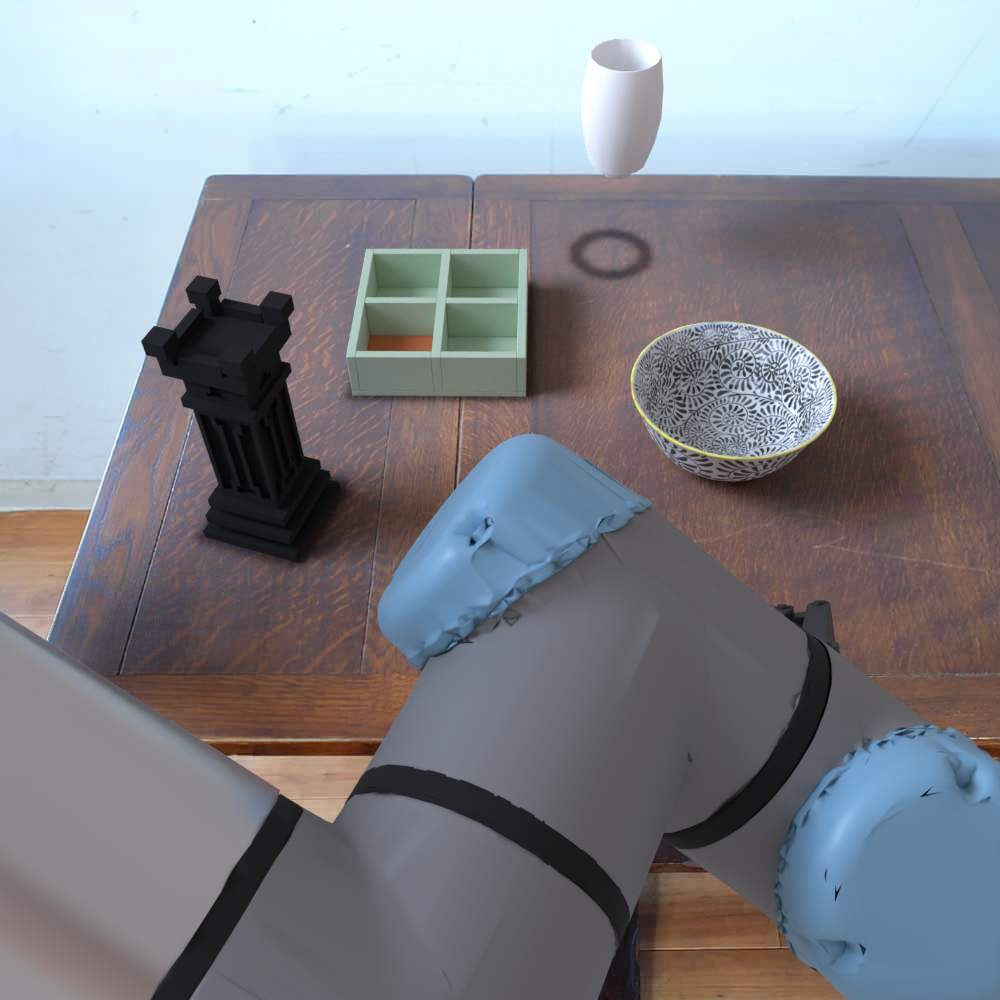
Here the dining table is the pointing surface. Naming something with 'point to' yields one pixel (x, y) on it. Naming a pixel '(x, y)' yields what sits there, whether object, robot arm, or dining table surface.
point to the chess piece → (246, 419)
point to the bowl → (731, 398)
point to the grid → (440, 323)
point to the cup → (621, 105)
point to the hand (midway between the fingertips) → (615, 629)
